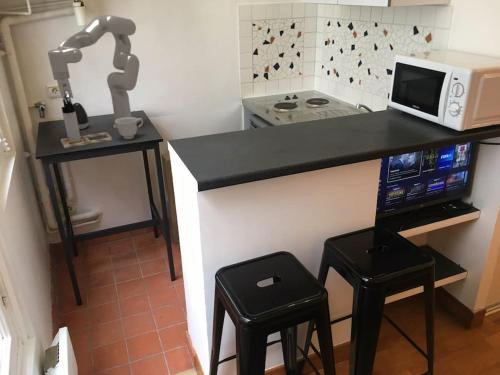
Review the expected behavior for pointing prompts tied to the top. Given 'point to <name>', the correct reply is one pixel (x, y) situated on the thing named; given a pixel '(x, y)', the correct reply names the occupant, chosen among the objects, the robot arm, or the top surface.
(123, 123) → the teacup
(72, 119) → the travel mug
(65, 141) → the beige flat rectangular frame
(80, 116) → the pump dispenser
